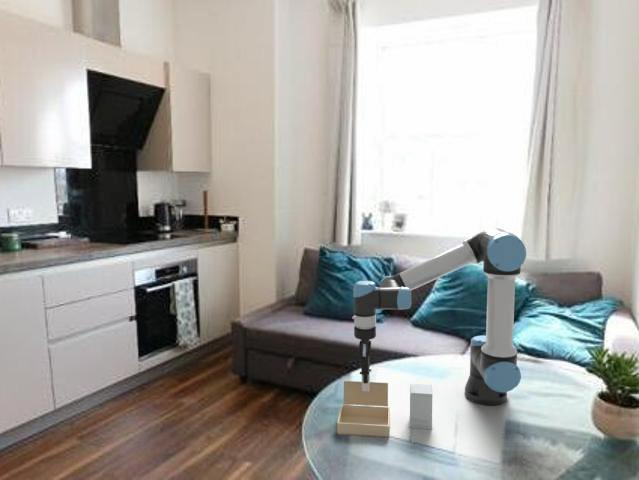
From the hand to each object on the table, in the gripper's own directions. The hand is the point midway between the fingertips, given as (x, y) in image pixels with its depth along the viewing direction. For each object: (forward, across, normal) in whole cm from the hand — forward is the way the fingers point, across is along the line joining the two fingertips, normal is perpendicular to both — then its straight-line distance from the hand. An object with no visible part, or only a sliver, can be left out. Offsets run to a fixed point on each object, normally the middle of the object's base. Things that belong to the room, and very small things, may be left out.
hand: (365, 390), depth 168 cm
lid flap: (+1, 0, 0) cm, 1 cm away
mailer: (+9, +7, 0) cm, 12 cm away
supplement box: (+10, +3, +19) cm, 21 cm away
